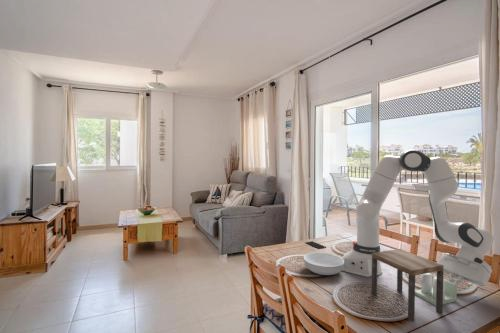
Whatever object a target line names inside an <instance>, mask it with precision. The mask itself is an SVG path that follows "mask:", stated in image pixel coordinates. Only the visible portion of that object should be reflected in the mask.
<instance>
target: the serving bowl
mask: <svg viewBox="0 0 500 333" xmlns="http://www.w3.org/2000/svg"><path fill="white" fill-rule="evenodd" d="M342 258H343V257H340V256H338V255H335V254H333V253H326V252H310V253H306V254H305V255H304V256H303V262H304V265H305V267H306V268H307V269H308V270H309V271H311V273H314V274H317V275H320V276H321V275H322V276H331V275H336V274H338V273H340V272H342V271H341V270H342V269H343V266H344V260H343V259H342Z"/></svg>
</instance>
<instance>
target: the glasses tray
mask: <svg viewBox="0 0 500 333" xmlns="http://www.w3.org/2000/svg"><path fill="white" fill-rule="evenodd" d="M457 286H458V285H456V284H454V283H452V282H449V281H448V280H447V279H445V278H443V305H444V304H449V303H453V302H456V301H457V300H458V299H457V298H458V297H457V295H458V294H457V292H458V290H457V289H458V287H457ZM436 288H437V275H433V274H432V273H426V274H420V289H417V290H415V296H417V297H418V298H421V299H422V300H424V301H426V302H428V303H429V304H431V305H434V306H435V307H436Z"/></svg>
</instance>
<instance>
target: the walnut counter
mask: <svg viewBox="0 0 500 333" xmlns="http://www.w3.org/2000/svg"><path fill="white" fill-rule="evenodd" d="M377 260H379V261H380V263H383V264H385V265H388V266H390V267H392V268H394V269H396V272H397V273H396V277H397V278H396V291H397V292H399V293H402V292H403V278H404V277H403V276H404V275H403V274H404V273H405V274H407V275H408V278H407V279H408V280H407V281H408V285H407V286H408V289H407V294H408V295H407V297H408V298H407V320H409V321H410V322H414V321H415V309H416V308H415V307H416V306H415V305H416V304H415V302H416V295H415V291H416V276H421V274H426V273H430V274H432V273H436V276H437V288H436V306H435V313H436V314H439V315H442V314H443V312H444V311H443V308H444V306H443V305H444V304H443V279H444V271H443V268H444V265H442V264H439V263H436V262H437V261H433V260H431V259H428V258H425V257H423V256H421V255H417V254H414V253H413V252H409V251H406V250H404V249H401V248H397V249H390V250H384V251H380V252H374V253H372V276H371V291H370V292H371V295H373V296H378V289H377V288H378V275H377ZM373 296H372V297H373Z"/></svg>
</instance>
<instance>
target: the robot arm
mask: <svg viewBox="0 0 500 333" xmlns="http://www.w3.org/2000/svg"><path fill="white" fill-rule="evenodd" d="M402 171H407V172H413V173H414V172H415V173H416V172H421V173H422V174H423V175H424V176H425V179H426V182H427V184H428V185H427V186H428V187H429V194H428V202H429V206H430V210H431V214H432V218H433V223H434V224H433V225H434V235H435V236H436V238H437V239H438V240H439V241H440V242H442V243H446V244H447V243H448V244H452V243H453V244H459V245H461V247H460V248H459V250H458V251H457V253H456V255H455V254H451V253H448V252H446V253H444V254H443V255H442V256H440V258H439V259H438V260H437V261H435V262H436V263H439V264H442V265H444V268H443V273H447V274H449V275H448V276H449V279H448V280H447V281H449V282H452V283H454V284H456V285H457V286H458V285H459V284H460V283H463V282H464V281H466V282H469V283H471V284H474V285H476V286H477V285H478V286H479V287H482V288H483V287H486V286H487V284H488V283H489V281H490V278H491V274H492V272H493V269H492V268H491V267H490V265H489V264H488V263H487V262H486V261H485V260H484V257H485V256H486V255H487V254H488V253H489V252H490V249H492V246H493V243H494V236H493V234H492V233H491V232H490V231H489V230H487V229H486V228H483V227H476V226H474V225H473V224H472V223H471V222H470V223H469V222H463V221H462V222H458V221H457V222H455V221H454V222H453V221H452V222H451V221H450V219H449V218H448V214H447V209H446V205H445V204H446V202H447V200H448V199H449V198H452V197H453V196H454V195H455V194H456V193H457V191H458V188H459V187H458V186H459V185H458V181H457V179H456V176H455V174H454V172H453V169H452V168H451V166H450V165H449V163H448V162H447V161H446V159H445V158H444V157H441V156H433V157H429V156H428V155H426V153H424V152H422V151H421V150H419V149H415V148H413V149H412V148H411V149H406V150H404V152H403V153H401V154H400V155H398V156H395V155H390V154H388V155H384V156H383V157H382V158H381V159H380V161H379V162H378V164H377V165H376V167H375V169H374V171H373V172H372V175H371V177H370V178H369V181H368V183H367V185H366V188H365V189H364V192H363V194H362V196H361V198H360V200H359V201H358V203H357V205H356V208H355V213H356V214H355V216H356V240H355V241H353V242H352V248H351V250H349V251H346V252H345V253H344V254H343V256H342V257H341V258H342V259H343V260H344V266H343V269H342V270H341V271H340V272H344V273H345V272H346V273H349V274H354V275H357V276H361V277H362V276H363V277H366V278H369V277H372V253H374V252H381V245H380V211H381V209H382V207H383V204H384V202H385V201H386V199H387V198H388V195H389V194H390V192H391V189H392V188H393V186H394V183H395V182H396V180H397V178H398V176H399V175H400V173H401V172H402ZM382 274H383V270H382V265H381V261H379V260H377V276H380V275H382ZM456 277H457V278H456ZM455 278H456V279H455Z"/></svg>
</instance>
